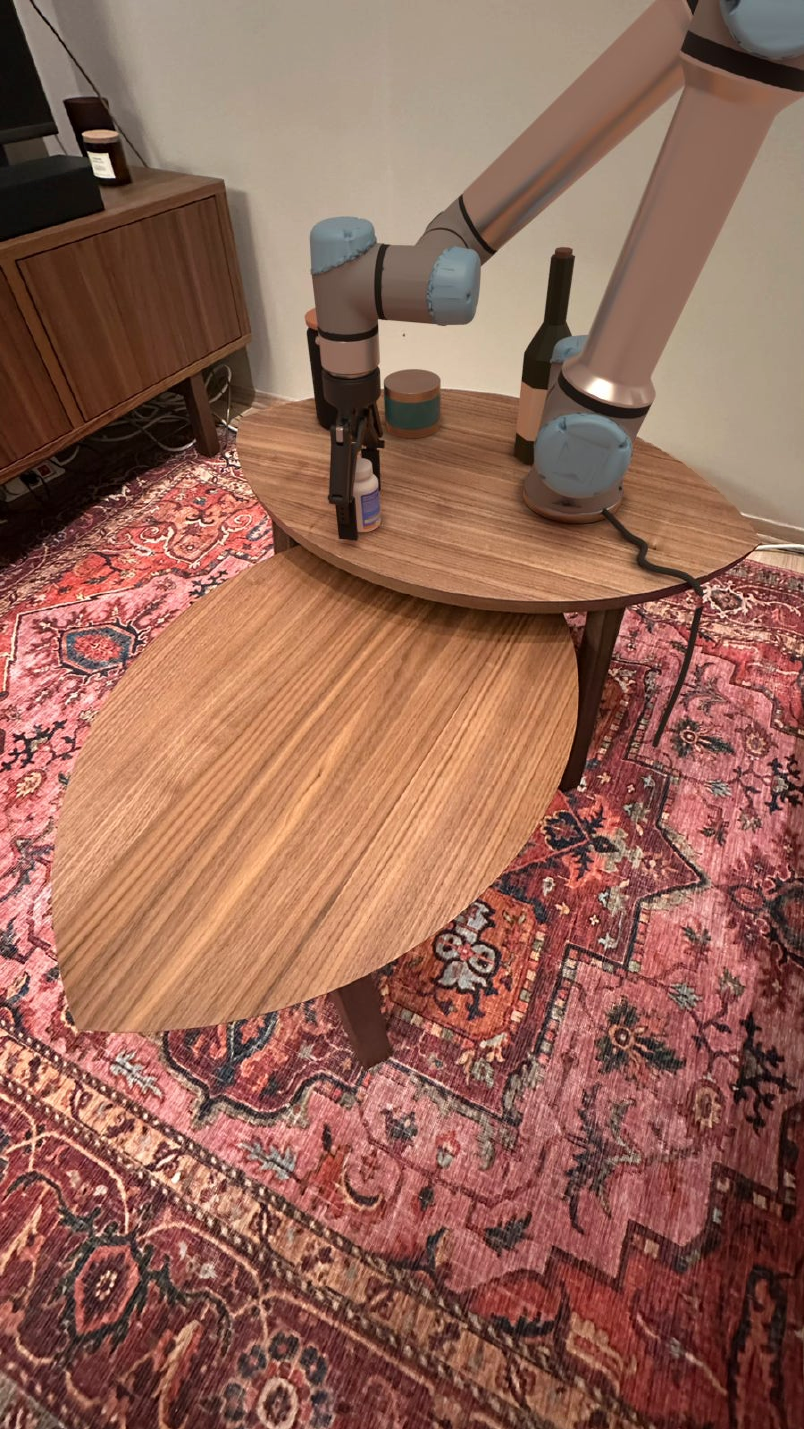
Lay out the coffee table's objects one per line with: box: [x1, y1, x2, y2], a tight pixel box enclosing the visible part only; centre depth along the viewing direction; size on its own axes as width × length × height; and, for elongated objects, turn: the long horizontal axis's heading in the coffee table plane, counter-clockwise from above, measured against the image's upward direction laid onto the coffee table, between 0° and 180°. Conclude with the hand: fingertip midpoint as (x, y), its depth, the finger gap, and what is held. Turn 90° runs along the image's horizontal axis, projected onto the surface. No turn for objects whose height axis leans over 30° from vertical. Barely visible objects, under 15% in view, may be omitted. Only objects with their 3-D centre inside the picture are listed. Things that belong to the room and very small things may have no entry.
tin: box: [383, 368, 442, 440], centre depth 123 cm, size 10×10×8 cm
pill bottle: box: [353, 457, 382, 533], centre depth 101 cm, size 5×5×10 cm
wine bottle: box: [513, 246, 576, 466], centre depth 106 cm, size 8×8×30 cm
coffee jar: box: [304, 307, 339, 431], centre depth 121 cm, size 11×11×18 cm
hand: (360, 513), depth 103 cm, fingers open, 13 cm apart
